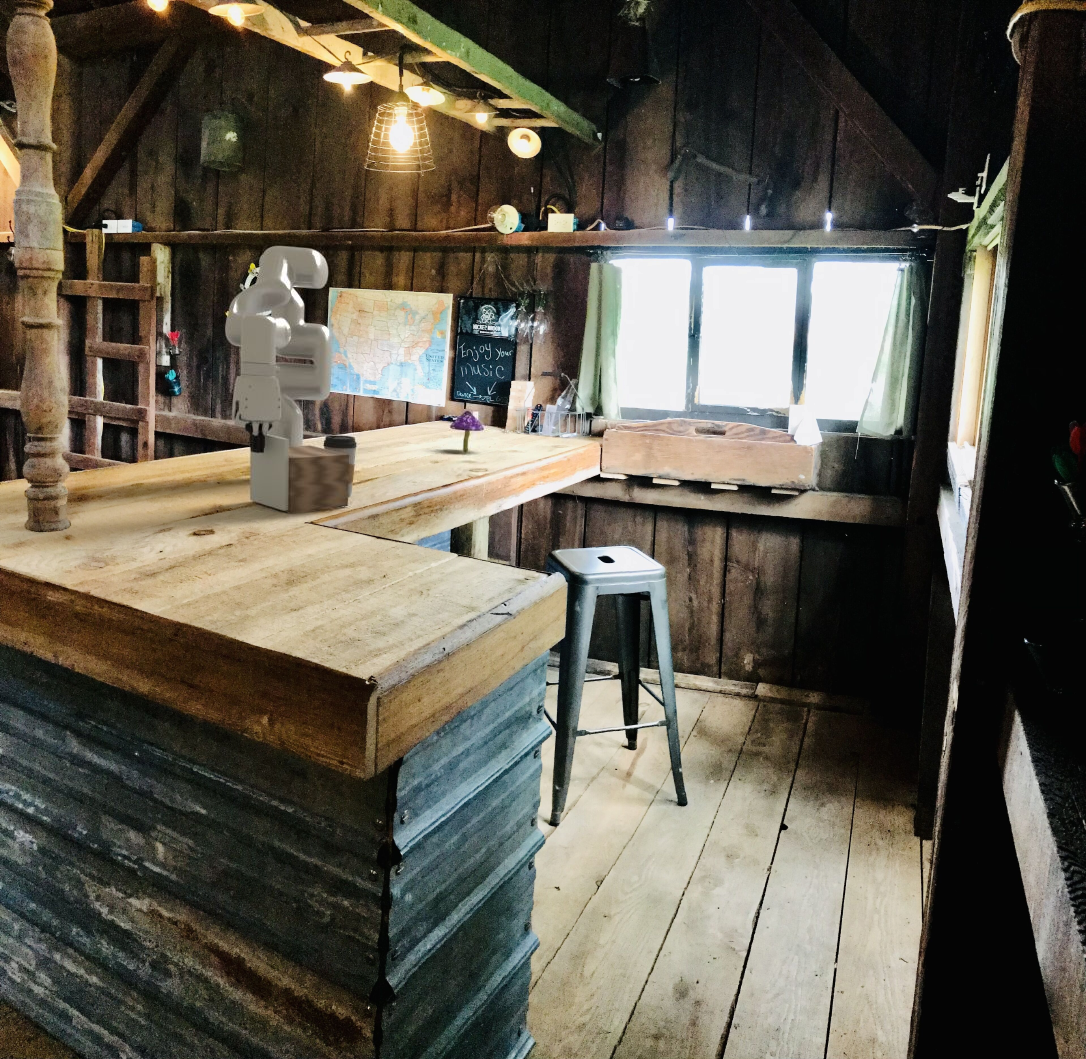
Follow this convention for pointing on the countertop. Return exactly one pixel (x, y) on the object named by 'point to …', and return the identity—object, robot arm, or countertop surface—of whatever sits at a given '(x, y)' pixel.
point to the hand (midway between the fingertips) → (257, 452)
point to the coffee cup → (344, 446)
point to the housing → (316, 479)
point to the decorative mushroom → (466, 426)
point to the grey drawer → (270, 473)
